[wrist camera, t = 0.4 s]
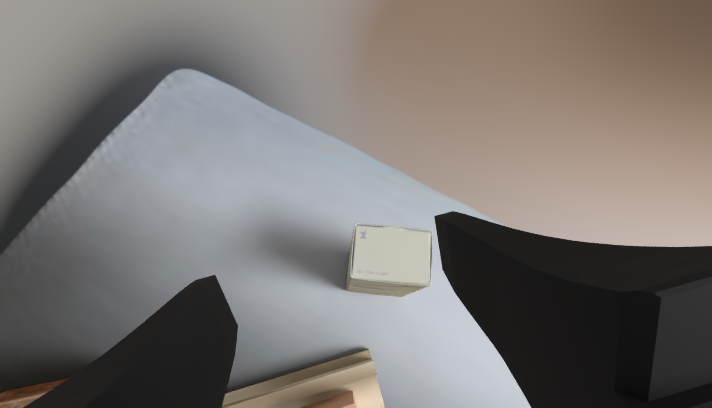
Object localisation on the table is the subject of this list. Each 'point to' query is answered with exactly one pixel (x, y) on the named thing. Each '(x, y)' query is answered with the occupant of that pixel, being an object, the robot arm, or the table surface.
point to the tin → (26, 394)
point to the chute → (314, 386)
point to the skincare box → (389, 260)
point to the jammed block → (336, 402)
